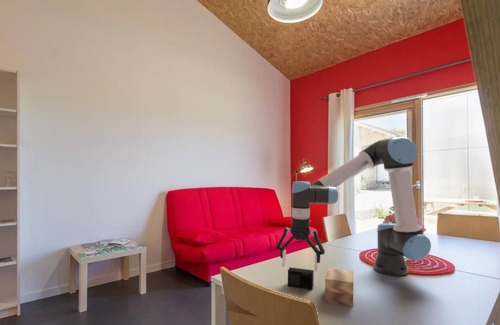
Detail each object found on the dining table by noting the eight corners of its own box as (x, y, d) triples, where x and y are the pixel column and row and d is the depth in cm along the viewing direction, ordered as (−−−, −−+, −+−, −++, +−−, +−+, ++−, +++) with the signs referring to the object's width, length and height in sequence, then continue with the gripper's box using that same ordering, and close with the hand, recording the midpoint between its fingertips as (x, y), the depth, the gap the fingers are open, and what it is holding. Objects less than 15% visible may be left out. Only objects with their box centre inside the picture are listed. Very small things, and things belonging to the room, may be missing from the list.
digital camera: (286, 287, 121) (286, 271, 121) (289, 282, 126) (289, 266, 126) (311, 291, 117) (311, 274, 117) (313, 286, 122) (313, 269, 122)
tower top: (353, 282, 116) (353, 271, 116) (353, 294, 104) (353, 282, 105) (327, 279, 119) (327, 268, 119) (325, 290, 108) (325, 278, 108)
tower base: (353, 294, 115) (353, 282, 116) (353, 307, 104) (353, 295, 104) (327, 290, 119) (327, 279, 119) (324, 302, 108) (324, 290, 108)
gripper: (269, 216, 122) (268, 266, 122) (330, 221, 114) (329, 275, 113) (274, 214, 129) (273, 261, 129) (331, 218, 121) (330, 269, 120)
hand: (299, 268), depth 121 cm, fingers open, 13 cm apart
